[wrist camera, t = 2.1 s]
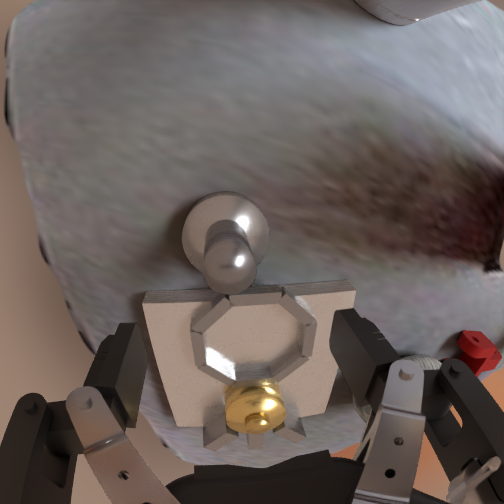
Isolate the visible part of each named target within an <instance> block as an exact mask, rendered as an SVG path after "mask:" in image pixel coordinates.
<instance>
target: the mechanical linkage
mask: <svg viewBox="0 0 504 504" xmlns="http://www.w3.org/2000/svg"><path fill="white" fill-rule="evenodd" d="M457 343H458V345H459V347H460V348H461V349H462V350H463V351H464V352H463V353H462V355H461V356H460V357H459V358H454V359H458V360H461V361H463V362H464V363H465V364H466V365H467V366H468V367H469V368H470V369H471V371H472V372H473V373H474V374H475V375H476V377H478V375H479V374H480V373H481V372H482V371H488V370H493V369H495V367H496V366H497V364H498V363H499V361H500V360H501V358H502V356H501V354H500V353H499V351H498V350H497V347H496V346H495V345H494V344H493V343H492V342H491V341H490V340H489V339H488V338H487V337H486V336H485V335H484V334H483V333H482V332H478V331H467V330H464V331H463V332H462V334H461V335H460V337H459V339H458V340H457ZM446 359H450V358H445V360H446ZM445 360H444V361H445ZM442 363H443V362H442Z"/></svg>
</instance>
